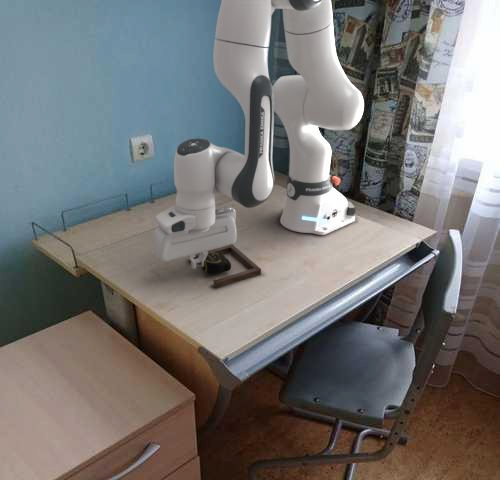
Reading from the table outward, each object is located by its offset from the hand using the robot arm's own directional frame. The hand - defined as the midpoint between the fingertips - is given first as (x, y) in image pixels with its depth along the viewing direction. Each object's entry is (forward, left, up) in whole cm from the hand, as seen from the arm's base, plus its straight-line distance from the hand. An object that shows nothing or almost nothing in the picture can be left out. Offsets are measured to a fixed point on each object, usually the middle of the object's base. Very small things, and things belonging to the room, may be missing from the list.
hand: (197, 266), depth 124 cm
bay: (-7, 0, -2) cm, 7 cm away
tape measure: (-5, 0, -3) cm, 6 cm away
